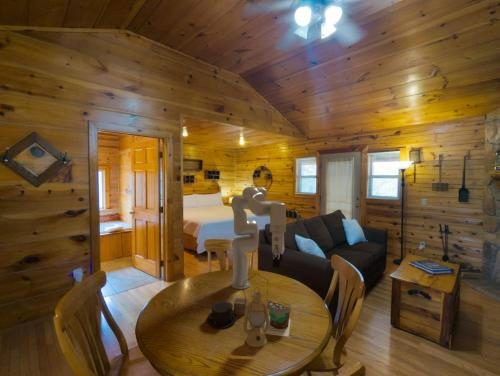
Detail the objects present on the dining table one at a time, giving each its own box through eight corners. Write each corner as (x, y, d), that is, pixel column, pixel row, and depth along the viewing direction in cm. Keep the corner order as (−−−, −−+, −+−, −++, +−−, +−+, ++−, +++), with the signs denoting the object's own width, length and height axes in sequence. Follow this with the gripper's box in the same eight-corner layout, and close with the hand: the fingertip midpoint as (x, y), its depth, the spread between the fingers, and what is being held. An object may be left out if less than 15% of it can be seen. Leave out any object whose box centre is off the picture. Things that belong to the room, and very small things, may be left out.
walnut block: (236, 308, 135) (236, 297, 135) (246, 309, 134) (246, 298, 134) (233, 314, 129) (233, 303, 129) (245, 315, 128) (245, 303, 128)
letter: (267, 316, 127) (267, 316, 127) (290, 319, 124) (290, 319, 124) (262, 333, 113) (262, 332, 113) (288, 337, 110) (288, 336, 110)
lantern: (244, 349, 102) (244, 278, 101) (241, 335, 112) (241, 269, 111) (272, 347, 104) (272, 277, 103) (267, 332, 113) (267, 268, 112)
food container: (262, 324, 120) (262, 304, 119) (269, 318, 124) (269, 299, 124) (284, 334, 112) (284, 312, 112) (291, 327, 117) (291, 306, 117)
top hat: (202, 327, 118) (202, 305, 118) (212, 310, 133) (212, 291, 132) (233, 330, 116) (233, 308, 115) (239, 313, 130) (239, 293, 130)
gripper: (283, 232, 108) (283, 271, 109) (287, 225, 125) (287, 258, 125) (267, 231, 110) (266, 269, 110) (272, 224, 127) (272, 257, 127)
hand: (277, 263), depth 118 cm, fingers open, 9 cm apart
